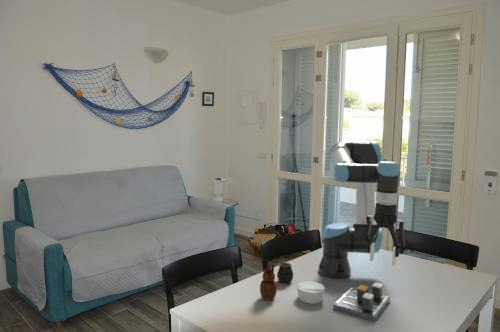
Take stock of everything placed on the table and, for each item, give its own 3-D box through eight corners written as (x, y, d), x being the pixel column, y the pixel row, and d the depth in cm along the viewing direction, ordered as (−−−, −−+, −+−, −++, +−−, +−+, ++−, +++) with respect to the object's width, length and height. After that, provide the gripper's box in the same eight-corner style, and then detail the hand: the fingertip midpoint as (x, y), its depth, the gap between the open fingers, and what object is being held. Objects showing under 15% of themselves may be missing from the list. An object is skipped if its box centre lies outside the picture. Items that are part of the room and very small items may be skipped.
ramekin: (307, 307, 152) (307, 294, 152) (291, 296, 162) (291, 283, 161) (330, 302, 157) (330, 289, 157) (313, 291, 167) (313, 279, 167)
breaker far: (371, 297, 157) (372, 285, 156) (374, 294, 160) (375, 282, 159) (379, 299, 155) (380, 287, 154) (382, 295, 158) (382, 284, 157)
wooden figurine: (278, 296, 161) (279, 261, 159) (274, 302, 155) (275, 266, 154) (262, 294, 163) (263, 259, 161) (258, 300, 158) (258, 264, 156)
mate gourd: (285, 286, 171) (285, 264, 170) (273, 281, 177) (273, 259, 176) (296, 282, 176) (296, 260, 175) (284, 277, 182) (284, 256, 181)
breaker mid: (357, 299, 154) (357, 287, 153) (360, 296, 157) (360, 284, 156) (364, 302, 152) (365, 289, 152) (367, 298, 155) (368, 286, 155)
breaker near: (362, 308, 147) (362, 295, 146) (365, 305, 150) (365, 292, 149) (370, 310, 145) (370, 298, 144) (373, 307, 148) (373, 294, 147)
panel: (333, 309, 151) (333, 303, 151) (351, 291, 167) (351, 286, 167) (374, 321, 142) (375, 315, 142) (389, 301, 159) (389, 296, 158)
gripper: (356, 201, 149) (353, 259, 151) (413, 208, 137) (408, 271, 140) (362, 198, 155) (359, 254, 158) (417, 205, 144) (413, 265, 146)
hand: (382, 262), depth 149 cm, fingers open, 8 cm apart
